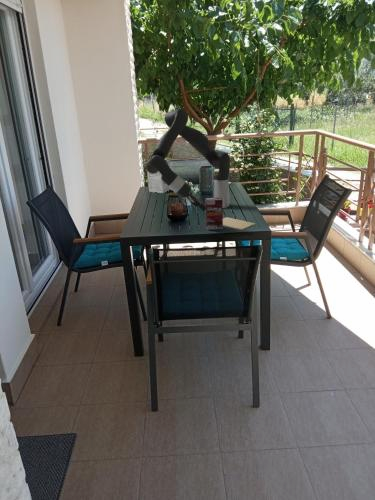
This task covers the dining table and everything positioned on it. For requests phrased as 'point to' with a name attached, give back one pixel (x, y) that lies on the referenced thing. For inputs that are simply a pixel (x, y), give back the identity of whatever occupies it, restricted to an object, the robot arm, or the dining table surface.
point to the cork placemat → (236, 223)
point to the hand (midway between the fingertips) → (205, 209)
